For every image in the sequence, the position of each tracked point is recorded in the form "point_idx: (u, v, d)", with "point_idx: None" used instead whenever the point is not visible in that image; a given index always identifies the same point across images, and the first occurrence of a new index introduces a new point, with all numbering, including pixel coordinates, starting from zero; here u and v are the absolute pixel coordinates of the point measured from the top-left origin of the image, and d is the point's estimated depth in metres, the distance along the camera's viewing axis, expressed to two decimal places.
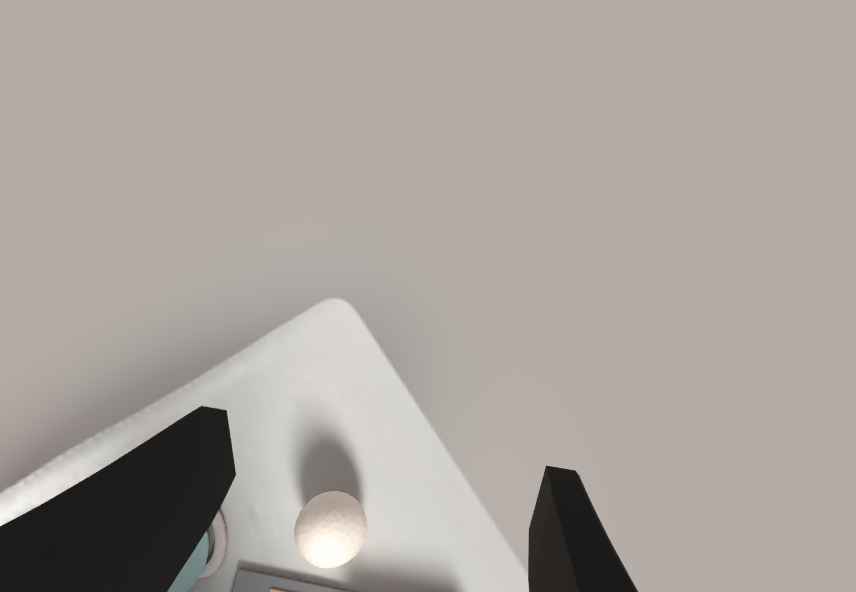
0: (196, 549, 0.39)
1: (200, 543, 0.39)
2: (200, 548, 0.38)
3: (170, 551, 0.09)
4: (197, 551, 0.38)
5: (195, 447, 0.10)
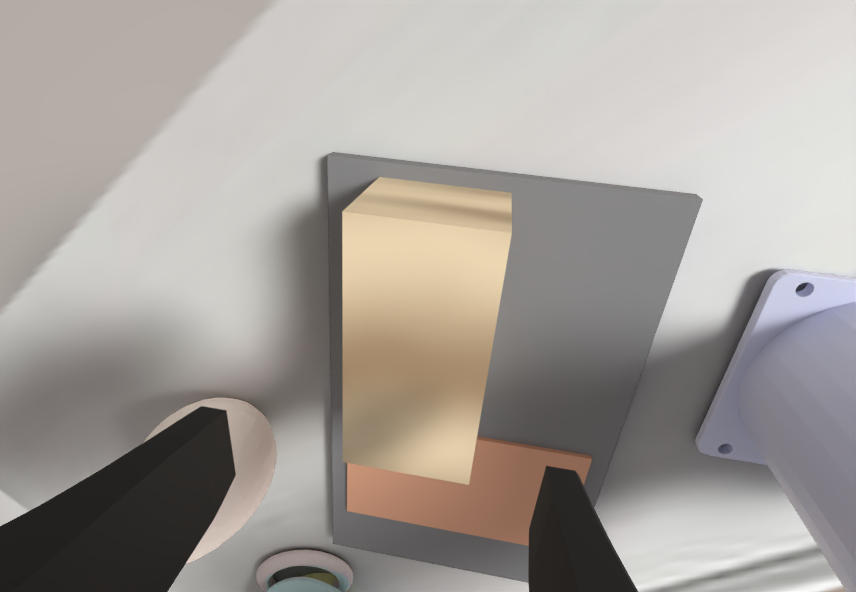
0: (314, 587, 0.27)
1: (305, 584, 0.26)
2: (311, 584, 0.26)
3: (171, 551, 0.09)
4: (316, 586, 0.26)
5: (195, 447, 0.10)
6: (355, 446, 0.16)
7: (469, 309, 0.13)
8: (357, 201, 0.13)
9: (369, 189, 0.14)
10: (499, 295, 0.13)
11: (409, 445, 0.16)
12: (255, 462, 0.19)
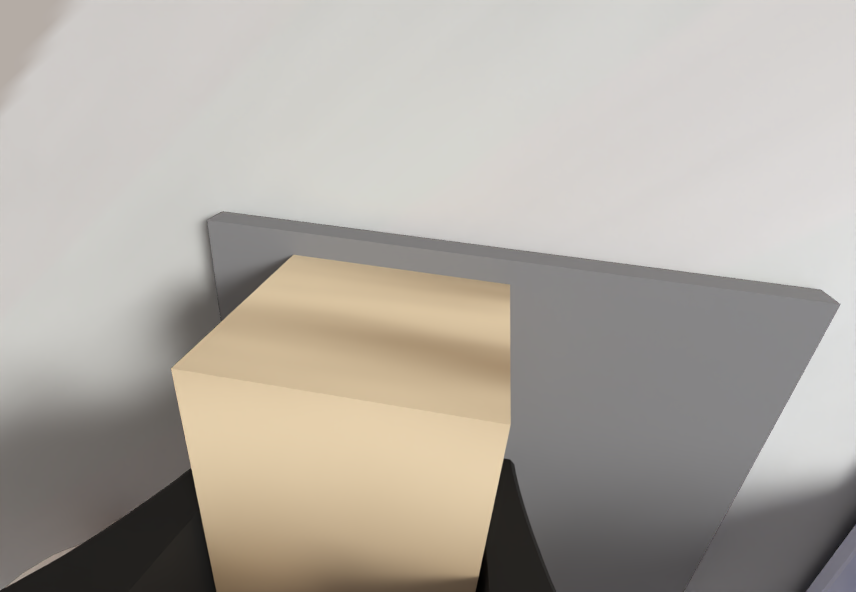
0: None
1: None
2: None
3: None
4: None
5: None
6: None
7: (430, 537, 0.07)
8: (220, 330, 0.07)
9: (260, 290, 0.08)
10: (486, 521, 0.07)
11: None
12: None
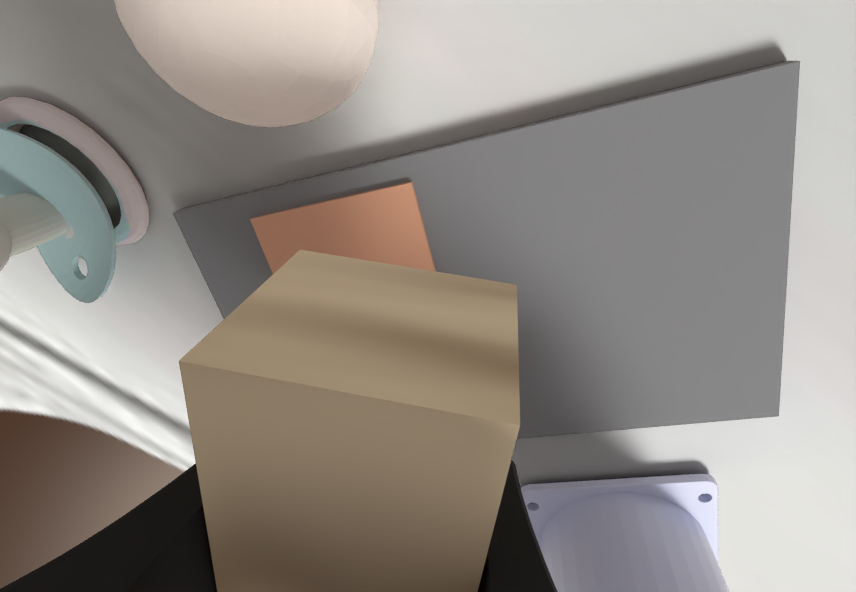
0: (79, 200, 0.17)
1: (75, 187, 0.17)
2: (82, 195, 0.17)
3: None
4: (83, 203, 0.17)
5: None
6: None
7: (434, 535, 0.07)
8: (227, 324, 0.07)
9: (267, 285, 0.08)
10: (491, 521, 0.07)
11: None
12: (339, 100, 0.12)
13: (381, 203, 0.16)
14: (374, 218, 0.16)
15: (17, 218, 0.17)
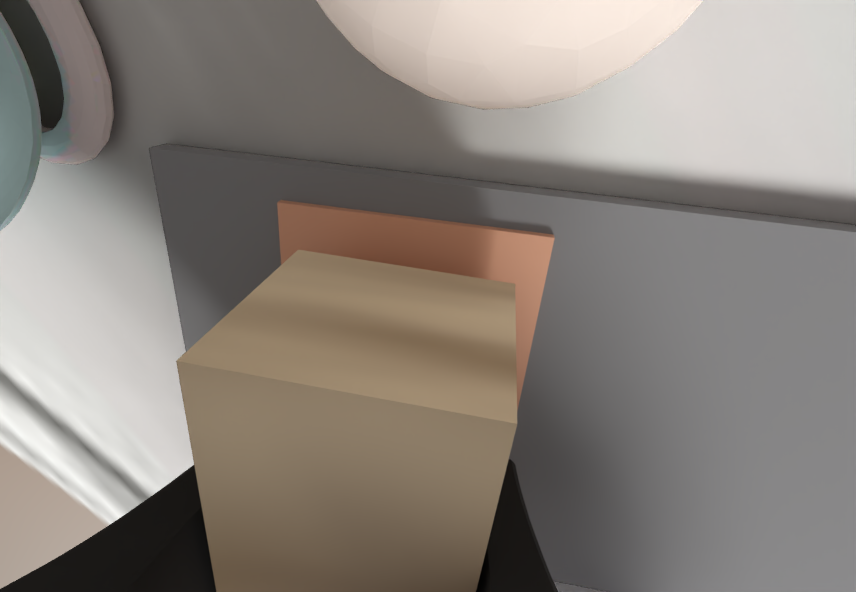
0: None
1: None
2: None
3: None
4: None
5: None
6: None
7: (432, 535, 0.07)
8: (225, 323, 0.07)
9: (265, 285, 0.08)
10: (489, 519, 0.07)
11: None
12: None
13: (495, 250, 0.10)
14: (474, 267, 0.10)
15: None
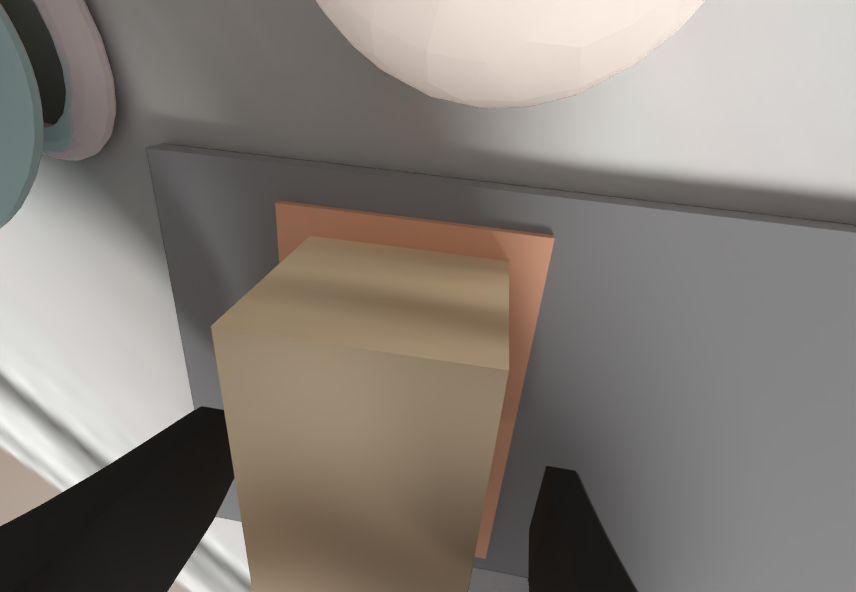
0: None
1: None
2: None
3: (170, 551, 0.09)
4: None
5: (195, 447, 0.10)
6: None
7: (438, 479, 0.08)
8: (250, 297, 0.08)
9: (283, 265, 0.09)
10: (488, 462, 0.07)
11: None
12: None
13: (494, 251, 0.10)
14: None
15: None
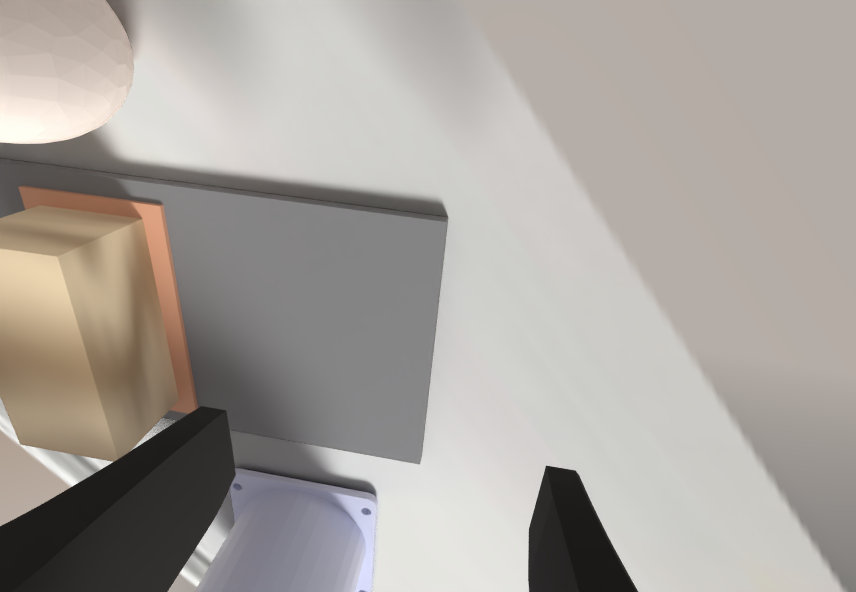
0: None
1: None
2: None
3: (170, 551, 0.09)
4: None
5: (195, 447, 0.10)
6: (24, 430, 0.19)
7: (55, 316, 0.16)
8: None
9: (4, 218, 0.18)
10: (70, 305, 0.16)
11: (62, 429, 0.19)
12: (68, 136, 0.15)
13: (134, 213, 0.19)
14: None
15: None
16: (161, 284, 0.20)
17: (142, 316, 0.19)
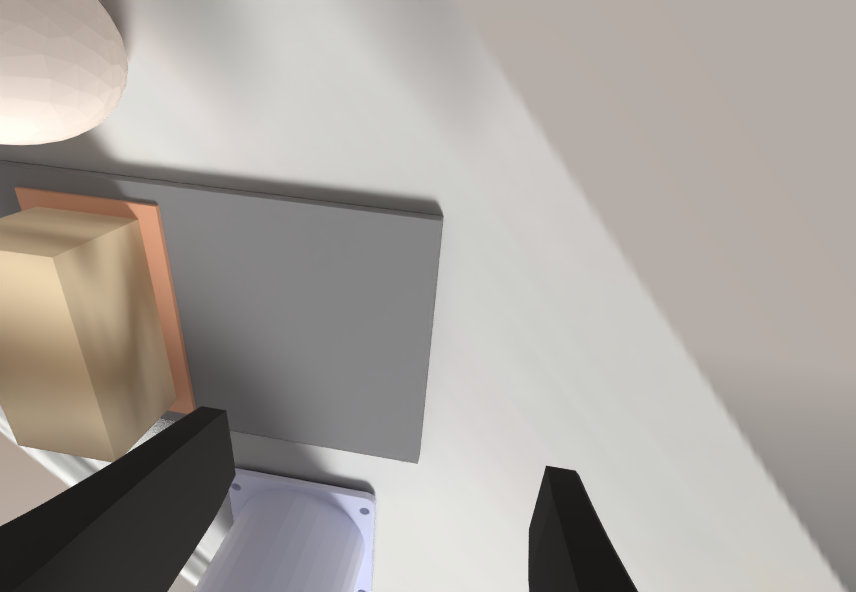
0: None
1: None
2: None
3: (170, 550, 0.09)
4: None
5: (195, 447, 0.10)
6: (21, 431, 0.19)
7: (50, 317, 0.16)
8: None
9: (0, 219, 0.18)
10: (66, 306, 0.16)
11: (59, 430, 0.19)
12: (62, 137, 0.15)
13: (129, 214, 0.19)
14: None
15: None
16: (157, 285, 0.20)
17: (138, 317, 0.19)
